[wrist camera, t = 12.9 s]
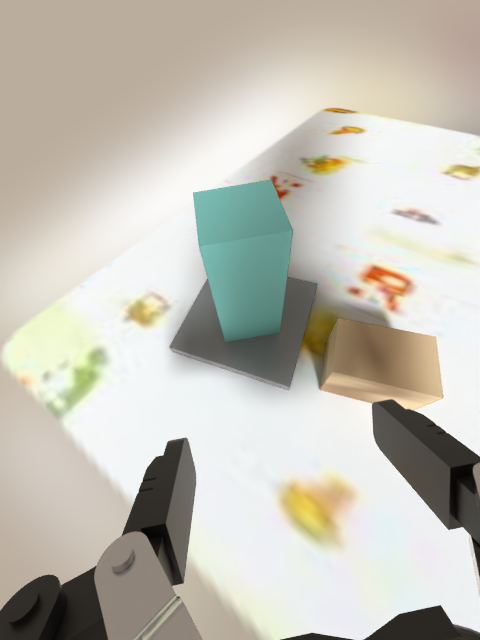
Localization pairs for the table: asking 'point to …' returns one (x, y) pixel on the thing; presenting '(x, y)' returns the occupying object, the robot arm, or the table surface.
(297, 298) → the coaster
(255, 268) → the teal block
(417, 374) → the oak block
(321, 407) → the table surface
